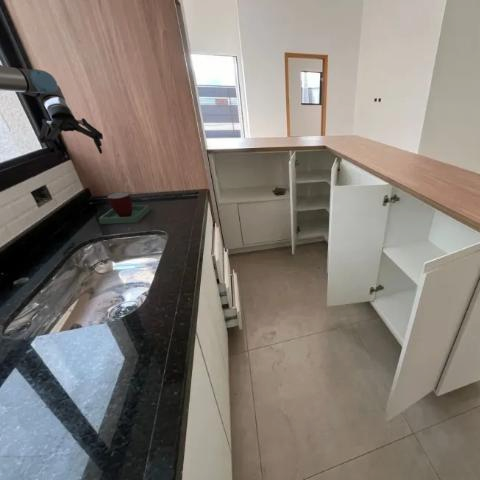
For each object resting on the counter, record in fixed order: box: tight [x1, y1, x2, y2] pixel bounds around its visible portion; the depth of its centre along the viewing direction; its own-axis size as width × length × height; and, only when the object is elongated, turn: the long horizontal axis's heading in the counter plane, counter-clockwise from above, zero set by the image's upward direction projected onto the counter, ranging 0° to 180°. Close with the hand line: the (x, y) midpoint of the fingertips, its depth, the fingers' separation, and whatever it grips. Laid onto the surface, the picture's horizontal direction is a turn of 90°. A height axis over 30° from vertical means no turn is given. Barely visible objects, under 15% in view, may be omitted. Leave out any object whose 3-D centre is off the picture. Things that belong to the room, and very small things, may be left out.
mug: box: [106, 192, 133, 217], centre depth 119 cm, size 10×8×10 cm
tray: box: [98, 204, 151, 225], centre depth 121 cm, size 15×15×3 cm
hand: (80, 153), depth 109 cm, fingers open, 13 cm apart
